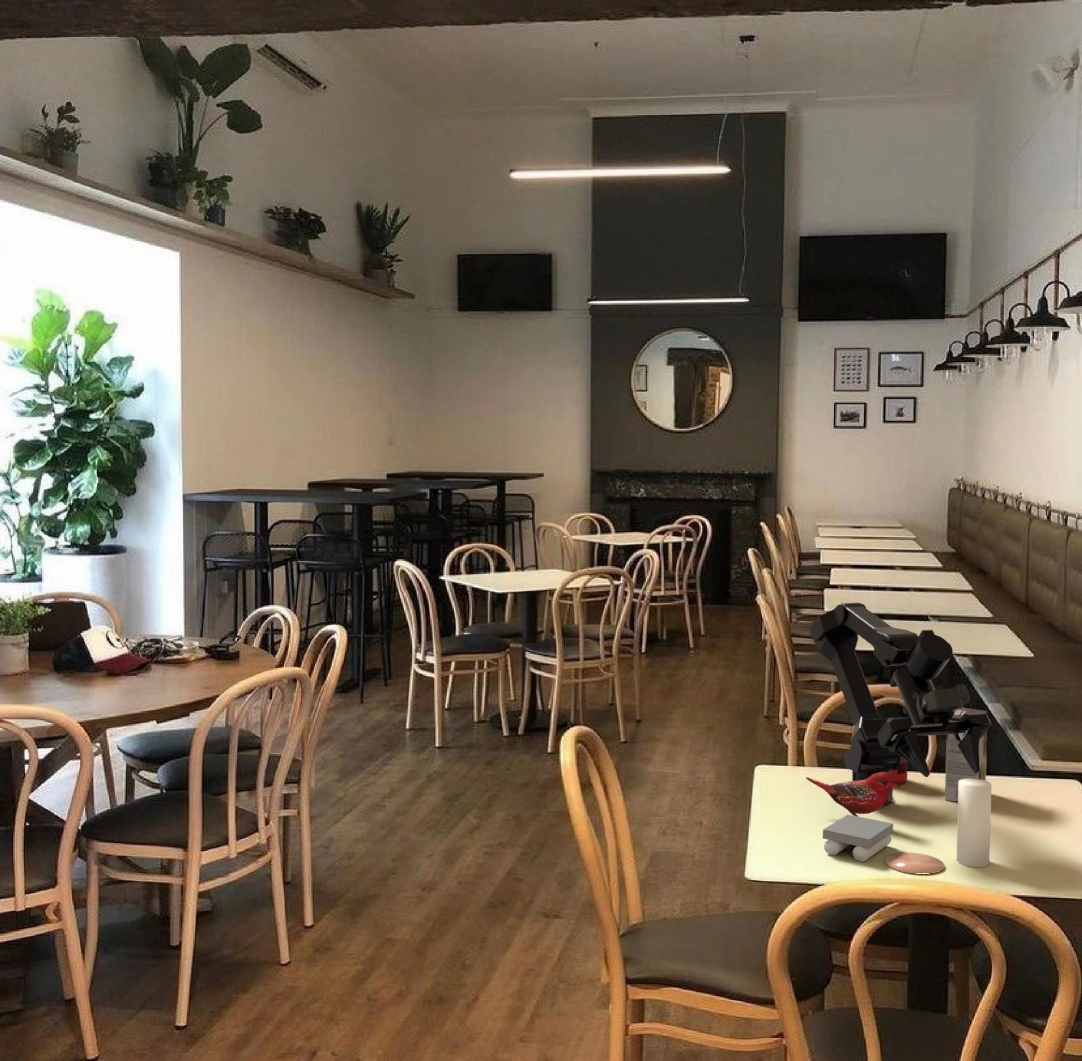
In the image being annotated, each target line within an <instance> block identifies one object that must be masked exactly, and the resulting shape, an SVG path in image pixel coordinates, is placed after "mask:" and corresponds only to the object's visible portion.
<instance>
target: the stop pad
mask: <svg viewBox="0 0 1082 1061" xmlns="http://www.w3.org/2000/svg"><path fill="white" fill-rule="evenodd" d="M884 859H885V864H886V866H887V867H888V868H890V869H892V870H893V871H897V872H900V871H903V872H902V873H904V872H907V873H906V874H909V873H921V874H922V873H929V874H928V875H931V874H930V873H935V874H937V873H936V872H938V871H941V870H942V871H943V870H944V869H945V864H944V862H943V861H942V860H940V859H939V858H937V857H935V856H932V855H927V854H925V853H919V852H895V853H892V854H889V855H887V856H886V857H885V858H884ZM943 868H944V869H943ZM942 871H941V872H942Z"/></svg>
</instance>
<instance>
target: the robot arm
mask: <svg viewBox="0 0 1082 1061" xmlns="http://www.w3.org/2000/svg"><path fill="white" fill-rule="evenodd" d="M809 631H810V632H809V633H810V636H811V639H812V641H813V643H814V644H815V647H816V649H817V650H818V652H819V653H820V654H821V655H823V656H824V658H826V659H827V660H828V661H830V663H831V665H832V667H833V671H834V673H835V676H836V678H837V681H838V684H839V687H840V689H841V692H842V696H843V697H844V700H845V704H846V706H847V708H848V712H849V714H850V717H851V719H852V723H853V726H854V727H853V730H852V733H851V738H850V743H851V745H850V746H849V748H848V750H847V751H846V753H845V754H844V755H843V756H844V757H843V758H844V763H845V764H844V766H845V768H846V769H848V770H849V771H852V772H851V773H852V774H851V776H852V777H851V781H860V780H865V779H867V778H869V777H870V776H871V775H873V774H875V773H879V772H887V773H889V774H890V770H898V767H899V763H900V758H901V757H902V758H904V759H905V760H906V761H908V763H909V764H910V765H911V766H912V767H914V769H916V770H917V771H918V772H919V773H921V775H923V777H925V778H929V776H930V774H931V772H930V770H929V766H928V763H927V761H926V759H925V757H924V754H923V751H922V750H921V749H922V748H921V747H920V745H919V739H918V737H922V736H923V737H924V736H925V737H926V736H927V737H928V736H941V735H947V734H954V736H955V738H956V740H958V741H959V744H958V747H959V749H960V751H961V752H962V754H963V756H964V757H965V759H966V761H967V762H968V764H969V766H970V767H971V769H972V770H973V771H974V773H978V772H979V771H980V764H979V740H980V739H981V737H982V736H983V735H984V734H985V733H986V731H989V729H990V728H991V727H992V722H991V719H990V718H989V716H988V713H987V714H985V713H982V712H978V713H964V715H963V716H962V717H961V718H960V720H959V721H958V722H949V720H948V719H949V718H952V717H953V715H954V711H953V710H955V709H957V708H964V705H967V704H969V703H970V702H971V697H970V693H969V690H968V688H967V687H966V684H956V685H954V686H951V687H950V688H943V689H942V688H940V689H936V688H935V686H934V683H933V681H932V680H934V679H935V678H937V677H938V676H939V674H940V673H941V672H942V671H943V669H944V668H945V666H946V665H947V664H948V662H949V661H950V659H951V658H952V656H953V652H954V650H953V647H952V645H951V643H950V642H948V641H947V640H946V639H944V638H943V637H942V636H940V635H937V634H935V631H934V630H933V629H922V630H921V631H920V633H919V635H918V634H917V633H916V632H914V631H913V632H912V631H911V630H908V629H904V628H896V627H893V626H891V625H889V623H887V622H885V621H884V620H883V619H882V618H880V617H878V616H877V615H876V614H874V613H873V612H872V611H870V610H869V609H867V607H866V605H865V604H864V603H861V602H842V603H840V604H837V605H835V607H834V608H833V609H832V610H829V611H827V612H825V613H823V614H821V615H819V616H818V617H817V618H816V619H815V621H813V623H812V624H811V626H810V630H809ZM859 637H860V638H862V639H863V640H865V641H866V642H867V643H868V644H870V645H871V646H872V648H873V655H874V656H875V658H876V659H877V660H878V661H879V662H880V664H881V665H882V666H884V667H891V666H892V667H893V666H894V667H895V666H898V668H897V669H896V670H895V671H893V672H892V677H891V679H890V683H889V686H890V687H891V688H898V692H899V694H900V696H901V699H902V701H903V703H904V706H903V707H902V710H901V711H902V712H903V715H908V716H909V717H908V716H899V717H898V716H897V717H889V718H883V717H882V716H880V714H879V712H878V709H877V706H876V704H875V702H874V699H873V695H872V693H871V690H870V688H869V686H868V683H867V681H866V677H865V675H864V672H863V670H862V667H861V665H860V662H859V659H858V657H857V654H856V649H857V645H858V642H859ZM892 780H893V779H892ZM893 788H894V787H892V790H891V793H890V794H889V795H888V797H887V800H886V802H885V803H884V805H883V806H882V807H881V808H883V807H884V806H886V805H887V804H889V803H890V802H892V801H893V800H894V797H893V795H894V793H893V792H894V791H893Z"/></svg>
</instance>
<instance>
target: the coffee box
mask: <svg viewBox="0 0 1082 1061" xmlns="http://www.w3.org/2000/svg"><path fill="white" fill-rule="evenodd" d="M953 711H954V715H953V717H952V718H949V719H948V720H949V722H958V721H959V720H960V718H961V717H962V716H963V715H964V713H978V712H982V713H985V714H987V715H988V710H982V709H973V708H969V707H968V708H966V707H963V708H957V709H955V710H953ZM987 731H988V730H987ZM987 731H986V733H985V734H984V735H983V736H982V737H981V739H980V740H979V764H980V771H979V772H978V773H974V771H973V770H972V769H971V767H970V766H969V764H968V762H967V761H966V759H965V757H964V756H963V754H962V752H961V751H960V749H959V747H958V744H959V741H958V740H956V738H955V736H954V734H946V746H945V748H946V749H945V750H946V751H945V752H946V753H945V775H944V776H945V777H944V778H945V779H944V785H945V787H944V788H945V790H944V800H945V801H950V802H956V801H958V783H959V780H961V779H980V780H985V781H987V780H986V779H987V778H986V776H987V742H988V737H987V736H988V735H987V734H988V732H987Z"/></svg>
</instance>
